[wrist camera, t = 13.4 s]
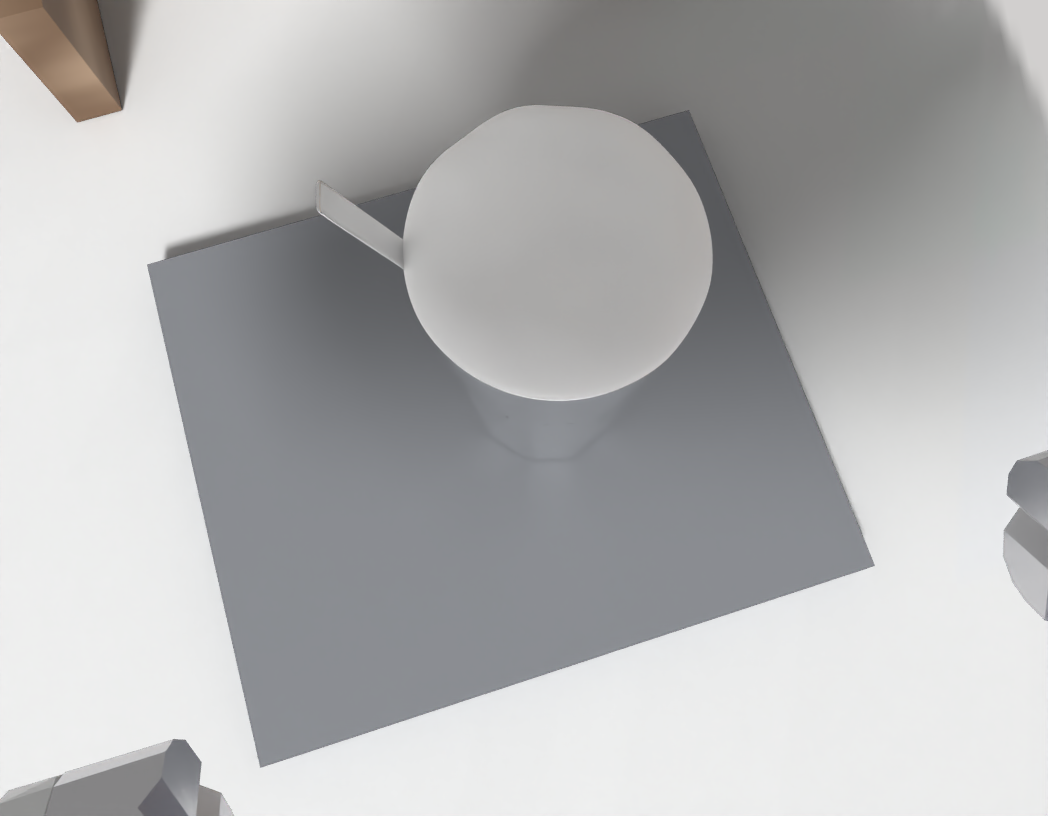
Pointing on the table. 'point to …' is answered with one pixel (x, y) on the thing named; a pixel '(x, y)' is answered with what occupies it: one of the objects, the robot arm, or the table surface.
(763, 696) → the table surface
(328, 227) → the grey pad
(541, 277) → the milkshake
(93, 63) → the walnut cubby
